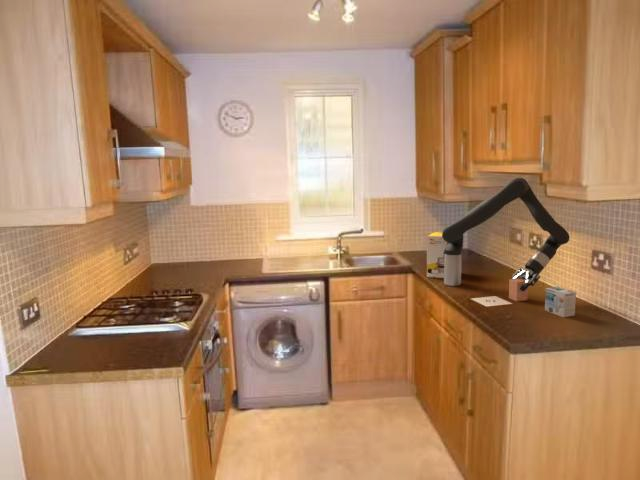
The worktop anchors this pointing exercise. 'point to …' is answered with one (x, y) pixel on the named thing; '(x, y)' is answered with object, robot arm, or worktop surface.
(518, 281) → the terracotta block
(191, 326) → the worktop surface
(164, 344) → the worktop surface
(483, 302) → the cream square pad
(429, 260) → the packaging box
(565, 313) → the light bulb box
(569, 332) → the worktop surface
